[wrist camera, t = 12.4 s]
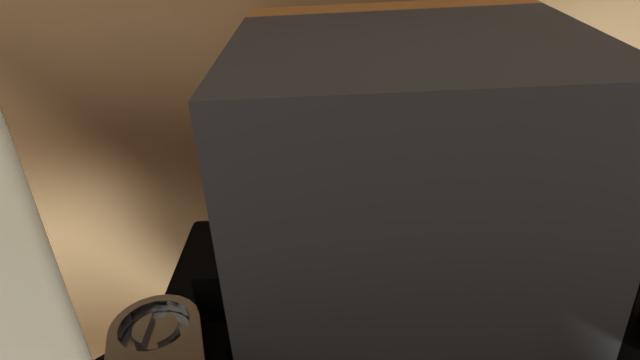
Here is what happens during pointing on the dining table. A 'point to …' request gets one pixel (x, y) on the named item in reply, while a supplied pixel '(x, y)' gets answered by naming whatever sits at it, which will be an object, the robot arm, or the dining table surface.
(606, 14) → the oak board
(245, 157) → the block
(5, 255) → the dining table surface
